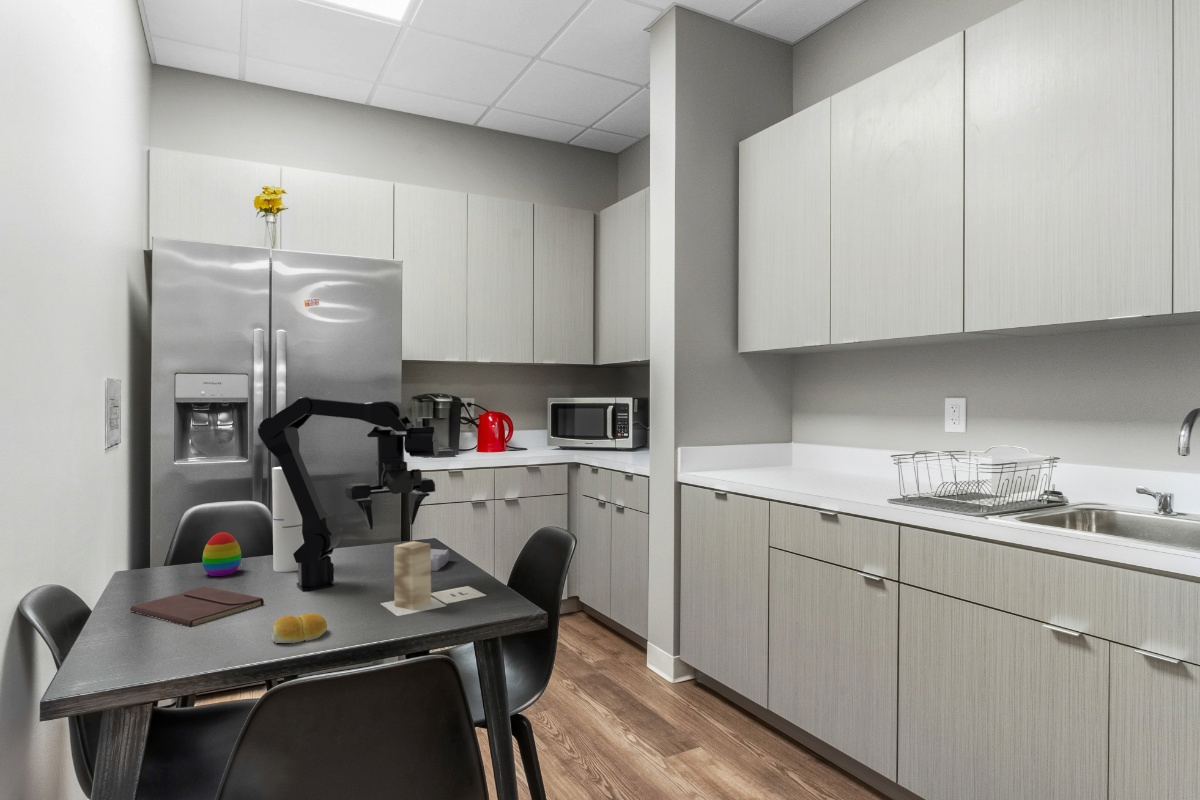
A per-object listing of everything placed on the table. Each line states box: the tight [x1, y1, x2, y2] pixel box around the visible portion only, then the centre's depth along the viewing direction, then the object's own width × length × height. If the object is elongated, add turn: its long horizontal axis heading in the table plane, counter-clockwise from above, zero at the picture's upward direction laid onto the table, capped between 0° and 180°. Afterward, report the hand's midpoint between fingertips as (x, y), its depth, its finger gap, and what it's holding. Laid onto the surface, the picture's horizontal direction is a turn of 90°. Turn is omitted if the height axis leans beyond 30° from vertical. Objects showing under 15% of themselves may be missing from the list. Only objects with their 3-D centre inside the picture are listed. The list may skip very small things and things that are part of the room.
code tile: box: [431, 585, 487, 605], centre depth 141 cm, size 9×9×1 cm
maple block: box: [393, 540, 432, 610], centre depth 134 cm, size 5×5×12 cm
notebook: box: [130, 586, 265, 628], centre depth 134 cm, size 15×20×2 cm
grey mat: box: [379, 596, 447, 617], centre depth 134 cm, size 10×10×1 cm
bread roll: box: [270, 612, 328, 644], centre depth 118 cm, size 8×9×4 cm
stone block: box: [431, 548, 450, 572], centre depth 166 cm, size 12×5×10 cm
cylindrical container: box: [271, 466, 304, 573], centre depth 166 cm, size 7×7×25 cm
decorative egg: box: [202, 531, 242, 577], centre depth 161 cm, size 8×8×10 cm
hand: (391, 526), depth 150 cm, fingers open, 9 cm apart
